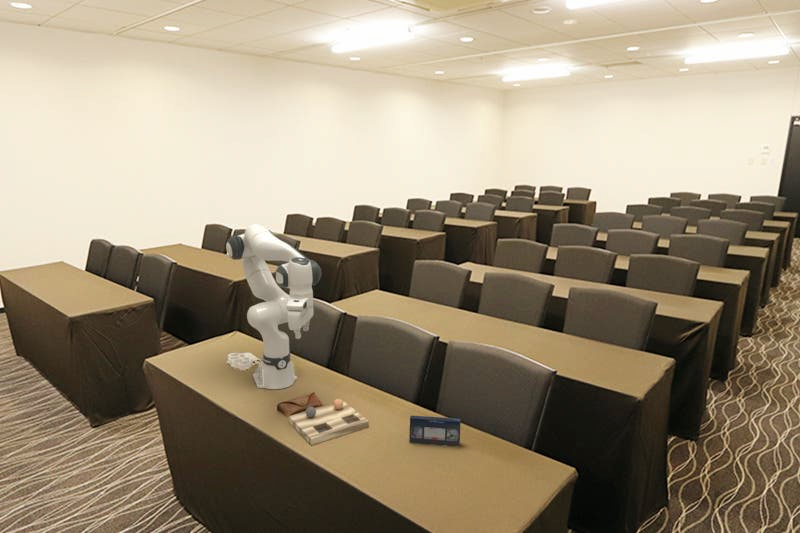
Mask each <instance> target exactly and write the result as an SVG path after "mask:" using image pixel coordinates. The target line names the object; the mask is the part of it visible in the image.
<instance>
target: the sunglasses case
mask: <svg viewBox="0 0 800 533" xmlns="http://www.w3.org/2000/svg"><path fill="white" fill-rule="evenodd" d="M323 406H324V403H322V401H321V400H320V399H319V397H318V396H317V394H316V392H311V393H309V394H306V395H301V396H299V397H294V398H293V399H292V398H291V399H289V400H286V401H281V402H279V403H278V404H277V405H276V411H277V412H279V413H280V414H282V415H283V416H285V417H286V418H289V416H291V415H295V414H298V413H302V412H305V411H306V409H307V408H308V407H314V408H315V409H316V408H319V407H323Z"/></svg>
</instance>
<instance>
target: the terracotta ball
mask: <svg viewBox="0 0 800 533" xmlns="http://www.w3.org/2000/svg"><path fill="white" fill-rule="evenodd" d="M343 401H344V400H342V399H340V398H336V399H335V400H334V401H333V403H332V404H333V406H334V408H336V409H341V408H342V407H343Z"/></svg>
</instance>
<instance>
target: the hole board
mask: <svg viewBox="0 0 800 533" xmlns="http://www.w3.org/2000/svg"><path fill="white" fill-rule="evenodd" d="M342 401H343V407H342V408H341V409H336V408H334V406H333V403H331V404H327V405H323V406H319V407H316V408H315V409H316V414H315V416H313V417H308V416H307V415H306V411H303V412H300V413H298V414H295V415H291V416H289V417H288V422H289V424H290V425H291V426H292V427H293V428H294V429H295V430H296V431H297V433H299V434H300V435H301V436H302V437H303V439H304V440H306V442H307V443H309V445H310V446H314V445H317V444H320V443H323V442H326V441H329V440H332V439H335V438H338V437H342V436H344V435H348V434H351V433H354V432H357V431H360V430H363V429H366V428H369V423H370V421H369V420H368V419H367V418H366V417H364V416H363V415H362V414H361V413H359V412H358V411H357V410H356V409H354V408H353V407H352V406H350V405H349V404H348V403H347V402H346V401H345V400H342Z"/></svg>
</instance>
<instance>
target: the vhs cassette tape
mask: <svg viewBox="0 0 800 533" xmlns="http://www.w3.org/2000/svg"><path fill="white" fill-rule="evenodd" d="M461 423H462V422H461V418H455V417H441V416H439V417H438V416H427V415H426V416H425V415H410V417H409V438H408V442H409V443H410V444H417V443H419V444H420V445H430V444H436V445H435V446H442V445H447V446H446V447H455V446H459V447H461V446H460V444H461V442H460V441H461Z"/></svg>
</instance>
